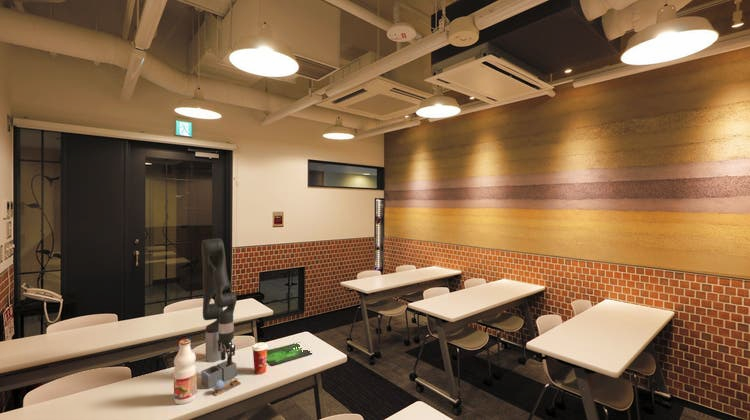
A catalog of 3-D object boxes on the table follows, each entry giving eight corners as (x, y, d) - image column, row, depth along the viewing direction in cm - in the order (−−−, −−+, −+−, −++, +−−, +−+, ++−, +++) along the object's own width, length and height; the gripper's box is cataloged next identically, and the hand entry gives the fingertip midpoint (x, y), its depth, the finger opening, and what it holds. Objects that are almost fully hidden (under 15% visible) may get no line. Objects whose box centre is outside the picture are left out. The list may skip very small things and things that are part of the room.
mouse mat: (300, 342, 219) (300, 340, 219) (314, 354, 201) (314, 352, 201) (259, 353, 203) (259, 351, 203) (270, 367, 185) (270, 365, 185)
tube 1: (201, 384, 167) (201, 370, 167) (215, 378, 173) (214, 365, 173) (208, 389, 163) (208, 375, 163) (222, 382, 169) (222, 369, 169)
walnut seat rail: (212, 393, 159) (212, 390, 159) (237, 382, 169) (237, 378, 169) (215, 396, 157) (215, 392, 157) (240, 384, 168) (240, 380, 168)
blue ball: (212, 389, 160) (212, 381, 159) (221, 385, 163) (221, 377, 163) (217, 393, 157) (217, 384, 157) (225, 388, 160) (225, 380, 160)
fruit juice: (199, 398, 155) (199, 340, 155) (178, 407, 148) (177, 347, 148) (192, 390, 161) (191, 335, 161) (171, 399, 154) (170, 341, 154)
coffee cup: (263, 376, 175) (262, 348, 175) (249, 374, 177) (249, 347, 177) (271, 368, 183) (270, 342, 183) (257, 367, 185) (257, 341, 185)
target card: (212, 387, 164) (211, 387, 164) (234, 377, 174) (234, 377, 174) (216, 390, 162) (216, 389, 162) (238, 379, 172) (238, 379, 172)
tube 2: (216, 377, 174) (216, 364, 174) (229, 372, 180) (229, 359, 180) (223, 382, 170) (223, 368, 169) (236, 376, 175) (236, 363, 175)
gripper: (212, 329, 175) (212, 360, 176) (226, 335, 167) (227, 368, 167) (225, 325, 181) (225, 355, 182) (240, 331, 173) (240, 362, 173)
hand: (226, 361), depth 174 cm, fingers open, 5 cm apart
